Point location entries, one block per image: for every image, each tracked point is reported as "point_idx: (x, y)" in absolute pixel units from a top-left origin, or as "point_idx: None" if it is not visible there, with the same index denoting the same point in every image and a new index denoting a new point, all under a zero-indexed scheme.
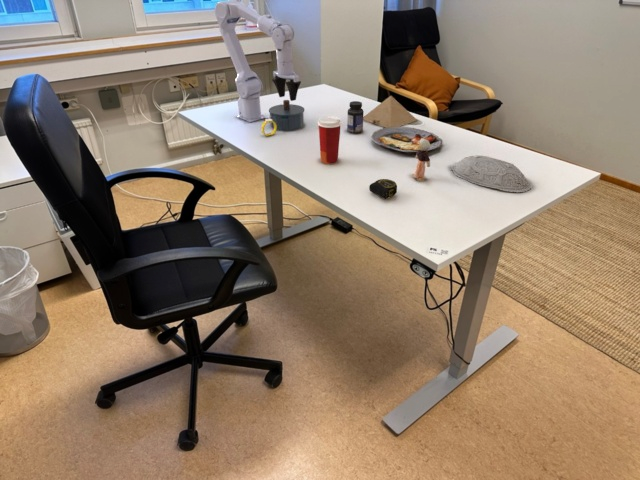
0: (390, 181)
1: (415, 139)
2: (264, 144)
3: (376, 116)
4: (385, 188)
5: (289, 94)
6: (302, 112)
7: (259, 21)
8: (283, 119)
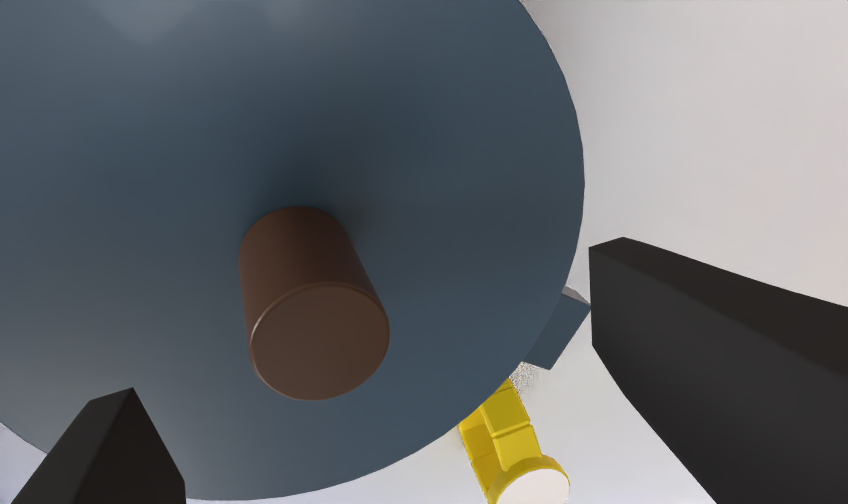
0: None
1: None
2: (616, 443)
3: None
4: None
5: (691, 463)
6: (541, 40)
7: None
8: (552, 343)
